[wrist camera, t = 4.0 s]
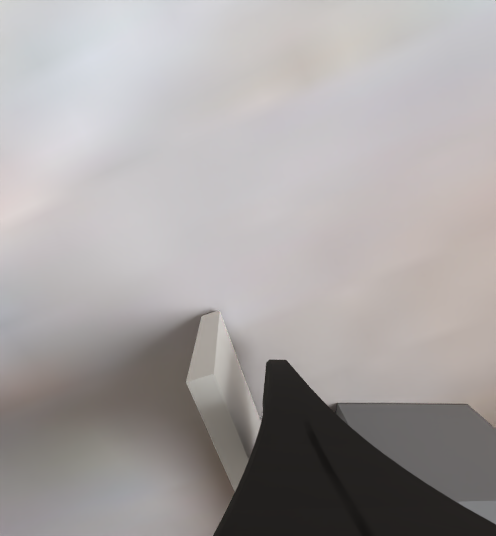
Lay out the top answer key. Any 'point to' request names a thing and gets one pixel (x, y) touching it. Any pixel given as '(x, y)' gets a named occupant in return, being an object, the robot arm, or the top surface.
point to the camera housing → (435, 447)
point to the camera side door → (223, 396)
